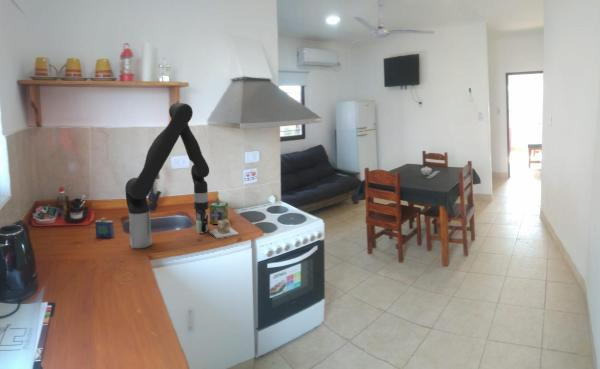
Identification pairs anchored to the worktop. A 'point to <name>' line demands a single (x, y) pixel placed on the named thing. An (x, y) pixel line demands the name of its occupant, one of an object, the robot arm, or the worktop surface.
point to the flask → (104, 229)
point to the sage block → (198, 226)
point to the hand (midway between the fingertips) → (202, 230)
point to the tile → (219, 235)
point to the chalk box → (218, 211)
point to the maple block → (223, 226)
